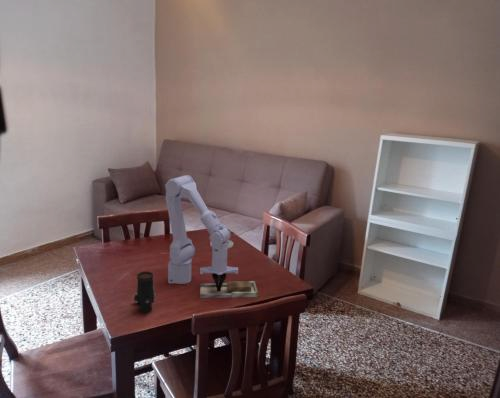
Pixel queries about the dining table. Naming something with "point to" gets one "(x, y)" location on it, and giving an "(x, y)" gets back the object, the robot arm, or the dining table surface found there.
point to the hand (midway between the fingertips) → (218, 289)
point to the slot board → (225, 291)
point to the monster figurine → (230, 243)
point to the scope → (145, 291)
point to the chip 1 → (233, 287)
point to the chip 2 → (245, 286)
